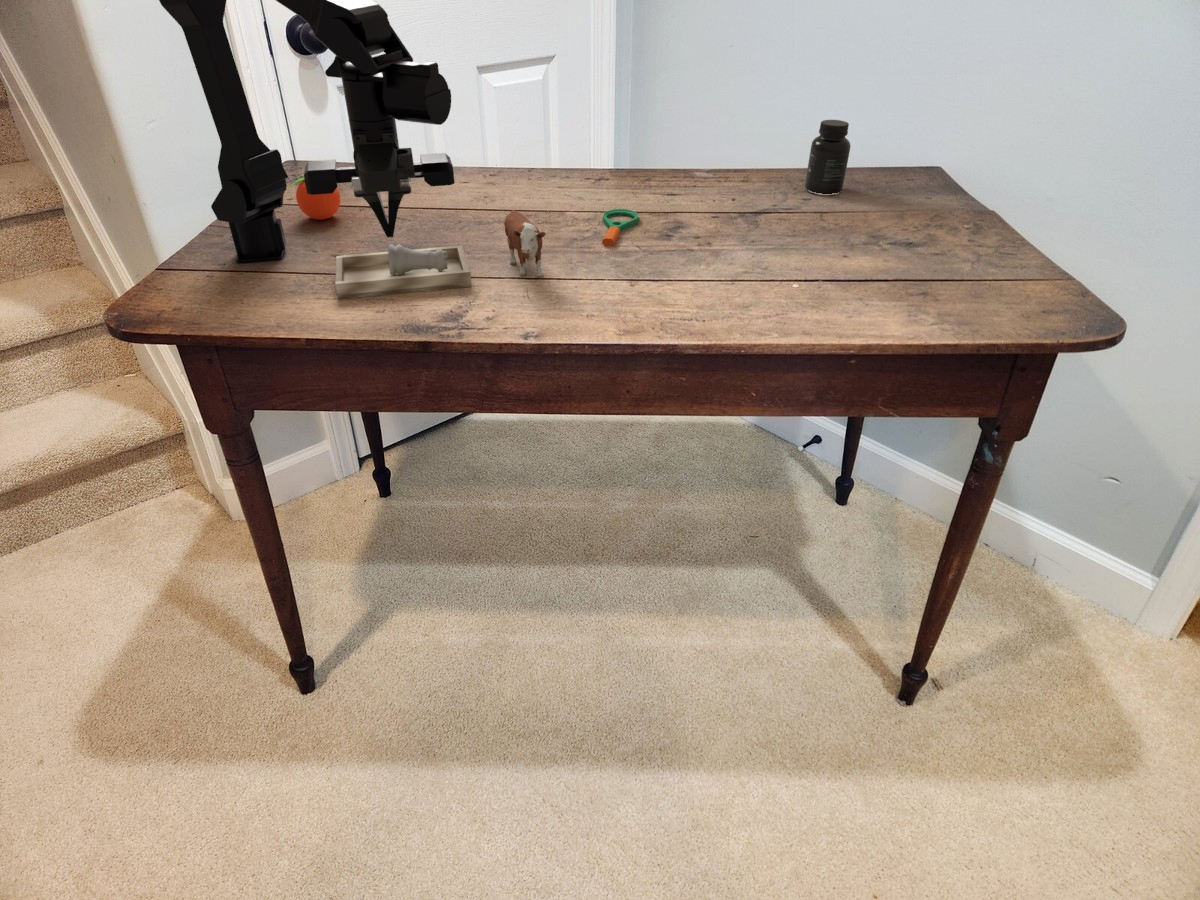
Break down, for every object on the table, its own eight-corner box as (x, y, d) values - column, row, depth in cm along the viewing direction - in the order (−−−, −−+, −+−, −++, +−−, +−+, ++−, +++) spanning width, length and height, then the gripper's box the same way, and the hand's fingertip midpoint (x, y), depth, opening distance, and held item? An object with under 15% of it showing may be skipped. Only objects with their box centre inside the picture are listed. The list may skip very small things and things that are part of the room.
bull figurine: (520, 290, 110) (517, 233, 105) (503, 254, 120) (500, 201, 116) (551, 287, 111) (549, 231, 106) (531, 252, 121) (529, 199, 117)
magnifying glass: (606, 214, 136) (606, 204, 135) (641, 217, 135) (641, 207, 134) (589, 247, 124) (589, 237, 123) (627, 250, 123) (627, 240, 122)
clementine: (293, 228, 129) (283, 184, 124) (294, 213, 134) (285, 171, 130) (344, 223, 130) (336, 180, 126) (343, 209, 136) (335, 167, 132)
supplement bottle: (800, 184, 150) (811, 117, 143) (837, 185, 150) (849, 118, 143) (808, 196, 144) (819, 127, 137) (845, 196, 144) (859, 127, 137)
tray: (338, 299, 107) (335, 284, 106) (339, 270, 115) (336, 255, 114) (471, 286, 111) (470, 271, 109) (463, 259, 119) (462, 245, 117)
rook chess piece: (389, 278, 110) (448, 278, 111) (387, 245, 108) (447, 245, 110) (390, 273, 114) (446, 274, 116) (388, 242, 112) (445, 242, 114)
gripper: (290, 137, 92) (317, 265, 101) (452, 128, 95) (464, 252, 104) (295, 114, 100) (320, 234, 109) (444, 107, 104) (455, 223, 113)
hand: (390, 236), depth 109 cm, fingers closed
